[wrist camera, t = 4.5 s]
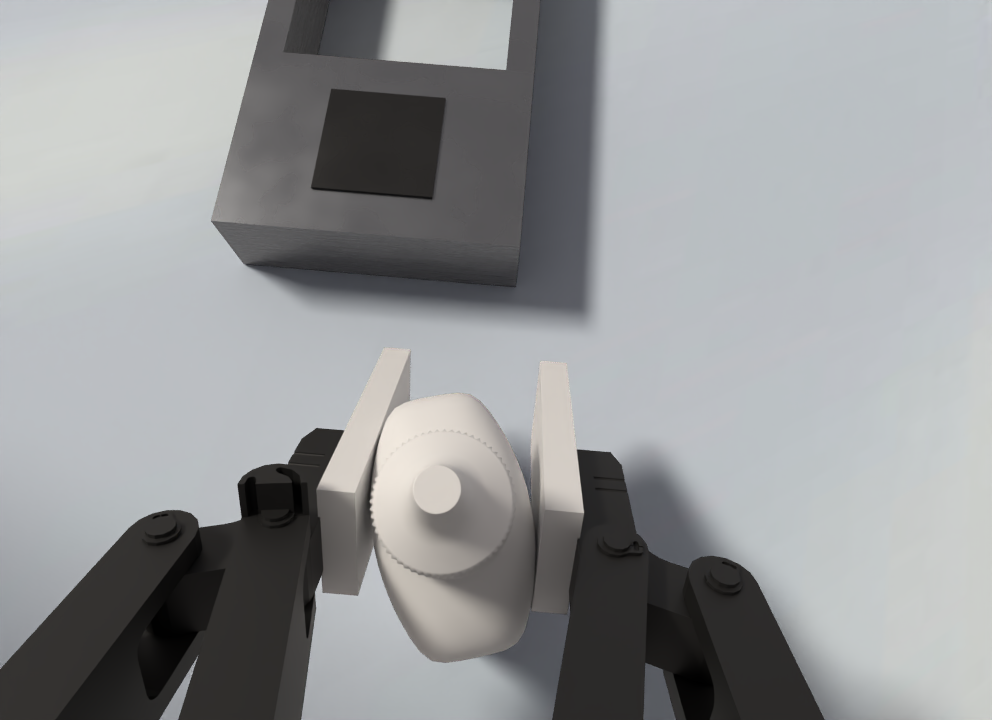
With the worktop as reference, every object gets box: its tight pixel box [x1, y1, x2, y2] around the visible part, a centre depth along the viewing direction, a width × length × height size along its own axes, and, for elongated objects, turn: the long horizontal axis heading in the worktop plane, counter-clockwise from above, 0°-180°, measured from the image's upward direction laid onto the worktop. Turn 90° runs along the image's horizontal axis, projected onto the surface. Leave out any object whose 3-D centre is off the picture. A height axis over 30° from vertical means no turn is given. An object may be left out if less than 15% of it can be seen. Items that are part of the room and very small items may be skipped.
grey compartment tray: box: [211, 0, 540, 287], centre depth 26 cm, size 10×22×3 cm, turn 175°
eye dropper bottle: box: [369, 393, 536, 663], centre depth 15 cm, size 4×6×12 cm
